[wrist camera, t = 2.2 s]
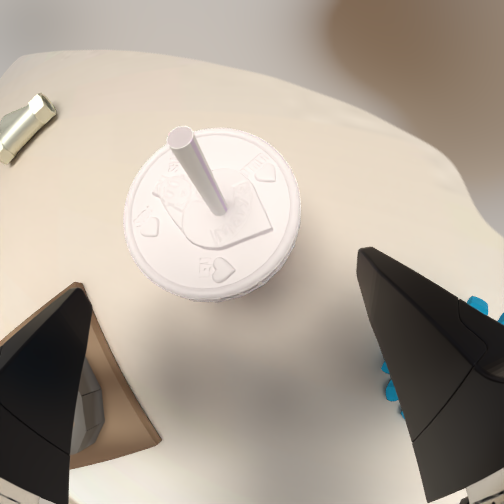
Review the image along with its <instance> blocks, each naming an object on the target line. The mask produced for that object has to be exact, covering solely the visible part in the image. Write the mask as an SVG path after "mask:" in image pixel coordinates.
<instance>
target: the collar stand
mask: <svg viewBox="0 0 504 504" xmlns="http://www.w3.org/2000/svg"><path fill="white" fill-rule="evenodd" d="M76 287H80V288H81V289H83V291H84V293H85V294H86V292H85V289H84V287H83V284H82V283H78V282H74V283H72V284H71V285H70V286H68V287H67V288H66V289H64V290H63V291H62V292H60V293H59V294H58V295H57V296H55V297H54V298H53V299H51V300H50V301H49V302H47V303H46V304H45V305H44V306H42V307H41V308H40V309H39V310H37V311H36V312H35V313H34V314H32V315H31V316H30V317H29V318H27V319H26V320H25V321H24V322H22V323H21V324H20V325H19V326H18V327H16V328H15V329H14V330H13V331H12V332H10V333H9V334H8V335H7V336H6V337H5V338H3V339H2V340H1V341H0V347H1V346H2V345H3V344H4V343H5V342H6V341H7V340H8V339H10V338H11V337H12V336H13V335H14V334H15V333H16V332H18V331H19V330H20V329H21V328H22V327H23V326H25V325H26V324H27V323H28V322H29V321H30V320H32V319H33V318H34V317H35V316H36V315H38V314H39V313H40V312H41V311H42V310H44V309H45V308H46V307H47V306H49V305H50V304H51V303H52V302H53V301H55V300H56V299H57V298H58V297H60V296H61V295H62V294H64V293H65V292H66V291H67V290H69V289H70V288H76ZM86 296H87V295H86ZM87 298H88V297H87ZM161 441H162V440H161V438H160V437H159V435H158V434H157V432H156V431H155V429H154V428H153V426H152V424H151V423H150V421H149V420H148V418H147V416H146V415H145V413H144V412H143V410H142V408H141V407H140V405H139V403H138V401H137V400H136V398H135V396H134V394H133V393H132V391H131V389H130V387H129V385H128V384H127V382H126V380H125V378H124V376H123V374H122V372H121V370H120V369H119V367H118V365H117V363H116V361H115V359H114V357H113V355H112V353H111V350H110V348H109V346H108V344H107V342H106V340H105V338H104V335H103V333H102V331H101V329H100V326H99V324H98V322H97V319H96V317H95V315H94V312H93V311H92V318H91V324H90V330H89V337H88V344H87V350H86V355H85V360H84V365H83V369H82V374H81V380H80V385H79V391H78V397H77V403H76V409H75V416H74V424H73V432H72V441H71V452H70V469H75V468H79V467H84V466H88V465H92V464H96V463H100V462H104V461H108V460H111V459H115V458H119V457H122V456H125V455H129V454H132V453H135V452H138V451H141V450H145V449H148V448H151V447H153V446H156V445H158V444H159V443H160V442H161ZM70 469H69V470H70Z"/></svg>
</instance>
